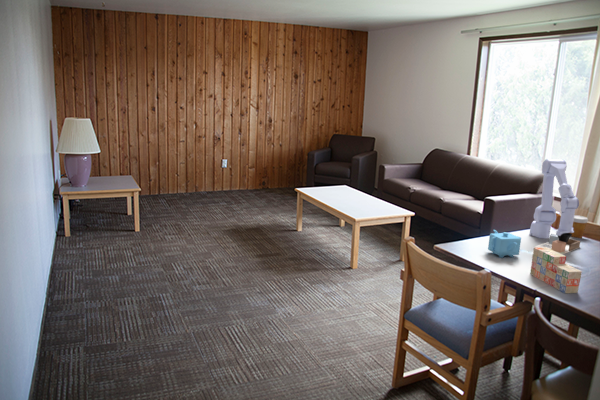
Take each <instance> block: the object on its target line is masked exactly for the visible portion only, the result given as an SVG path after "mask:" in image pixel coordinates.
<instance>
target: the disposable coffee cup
mask: <svg viewBox="0 0 600 400" xmlns="http://www.w3.org/2000/svg"><path fill="white" fill-rule="evenodd" d="M588 222H589V219H588V217H586V216H582V215H578V214H577V215H575V214H574V220H573V226H572V227H573V228H574V229H573V231H574V233H571V234H572V236H571V237H572V238H578V239H582V238H583V235H584V232H585V229H586V226H587V223H588ZM571 237H570V238H571Z"/></svg>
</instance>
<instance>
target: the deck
mask: <svg viewBox="0 0 600 400" xmlns="http://www.w3.org/2000/svg"><path fill="white" fill-rule="evenodd" d="M544 245H546V246H549V247H548V248H549V249H551V248H552V243H549V241H546V242H543V243H540V244H538V245H535V246H534V248H540V247H545V246H544ZM580 248H581V246H580V247H579V248H576V249H574V250H571V251H569V245H568V244H566V247H565V251H564V252H561V253H560V252H558V253H560V254H562V255H565V254H567V253H571V252H573V251H575V250H577V249H580ZM555 252H556V251H555Z"/></svg>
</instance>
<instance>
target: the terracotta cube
mask: <svg viewBox="0 0 600 400" xmlns="http://www.w3.org/2000/svg"><path fill="white" fill-rule="evenodd" d="M565 247H566V242H562V241H558V240H556V241H553V242H552V246H551V247H550V248H551V250H553V251H556V252H560V253H561V252H564V251H565Z"/></svg>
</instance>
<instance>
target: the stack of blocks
mask: <svg viewBox="0 0 600 400" xmlns="http://www.w3.org/2000/svg"><path fill="white" fill-rule="evenodd" d="M549 248H550V247H547V246H544V247H540V248H537V247H533V251H532V257H531V258H532V259H531V267H530V272H529V273H530V275H532V276H533V277H535V278H537V279H538V280H540V281H543V282H544V283H546V284H547V285H549V286H551V287H553V288H555V289H556V290H558V291H560V292H562V293H564V294H578V293H579V287H580V283H581V278H582V274H583V271H582V270H580V269H578V268H576V267H574V266H572V265H569V264H567V263H566V260H567V256H566V255H565V254H563V255H562V254H560V253H558V252H555V251H553V250H551V249H549Z"/></svg>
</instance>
